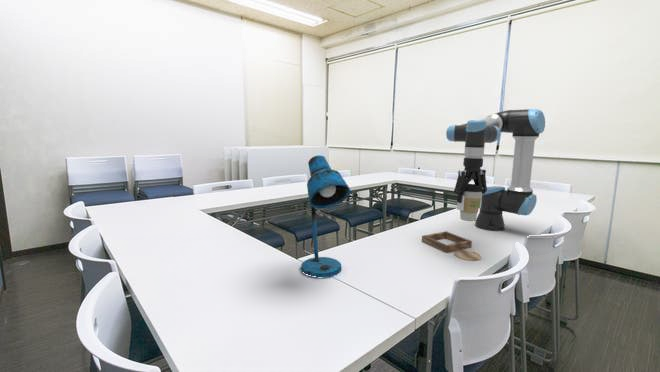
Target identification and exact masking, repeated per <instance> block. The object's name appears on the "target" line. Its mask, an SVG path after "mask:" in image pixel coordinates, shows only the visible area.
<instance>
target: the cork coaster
mask: <svg viewBox="0 0 660 372" xmlns="http://www.w3.org/2000/svg"><path fill="white" fill-rule="evenodd" d="M454 256H455V257H457V258H458V259H461V260H464V261H469V262H471V261H472V262H474V261H475V262H476V261H480V260H481V259H482V255H481V254H480V253H478V252H475V251H473V250H468V249H467V250H465V249H461V250H457V251H454Z"/></svg>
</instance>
